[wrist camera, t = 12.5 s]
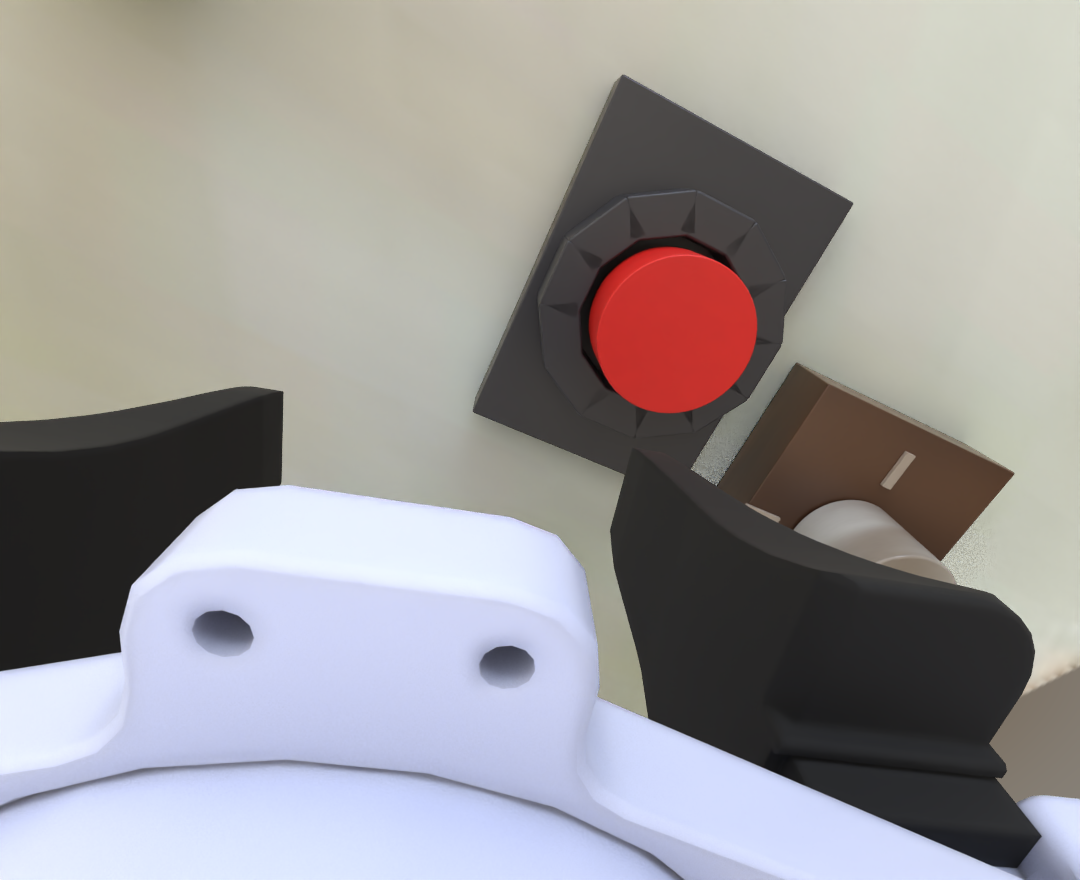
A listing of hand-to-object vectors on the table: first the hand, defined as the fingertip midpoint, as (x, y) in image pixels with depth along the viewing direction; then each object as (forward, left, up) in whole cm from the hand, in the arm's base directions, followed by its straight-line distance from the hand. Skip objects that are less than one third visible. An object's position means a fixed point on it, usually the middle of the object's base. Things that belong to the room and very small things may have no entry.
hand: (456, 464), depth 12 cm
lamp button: (+4, -4, -7) cm, 9 cm away
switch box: (+4, -4, -9) cm, 11 cm away
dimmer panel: (-1, -14, -9) cm, 17 cm away
